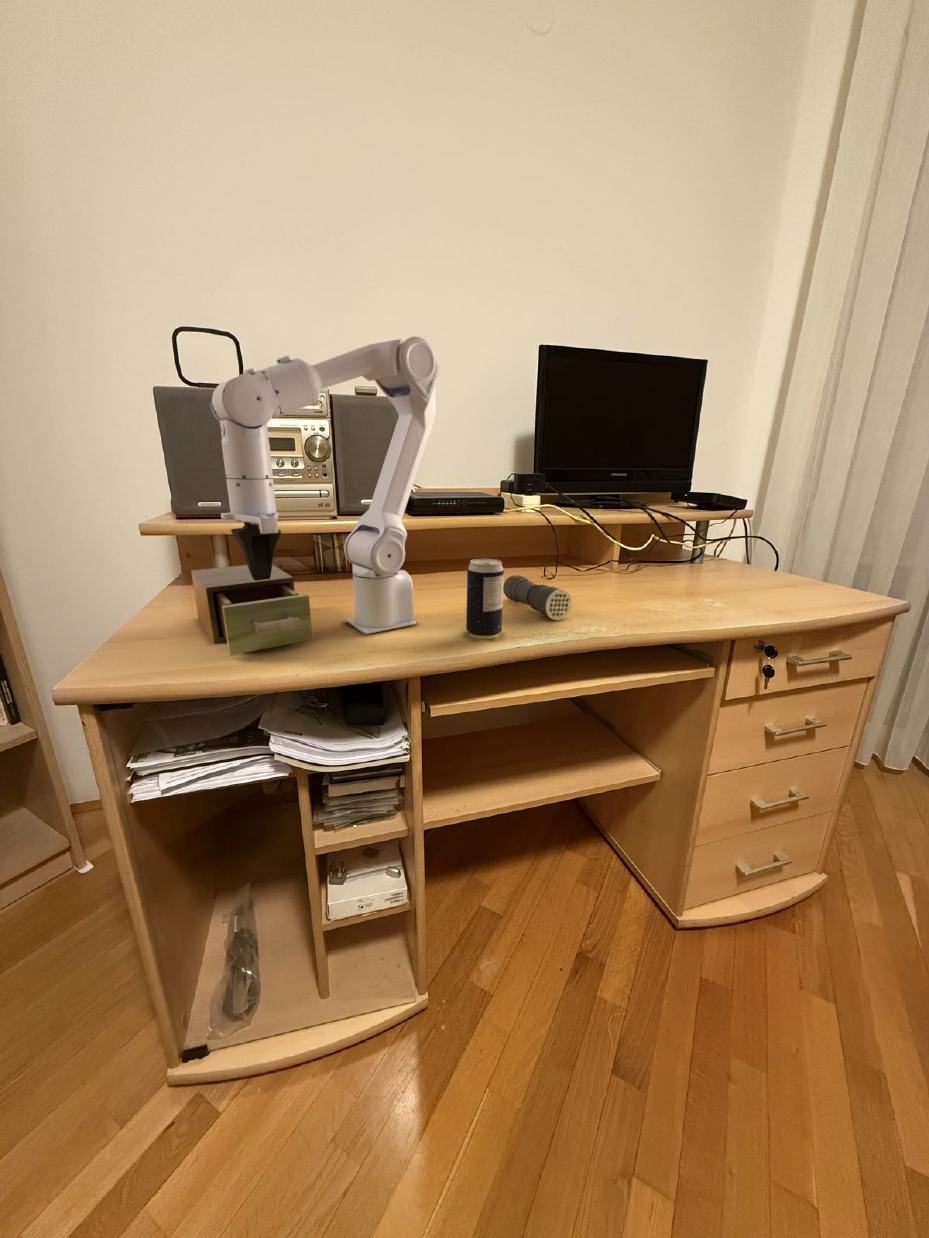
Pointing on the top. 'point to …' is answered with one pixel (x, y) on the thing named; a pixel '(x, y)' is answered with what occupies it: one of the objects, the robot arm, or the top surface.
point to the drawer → (262, 617)
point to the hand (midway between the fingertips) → (261, 578)
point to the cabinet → (224, 581)
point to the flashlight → (538, 597)
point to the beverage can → (484, 598)
